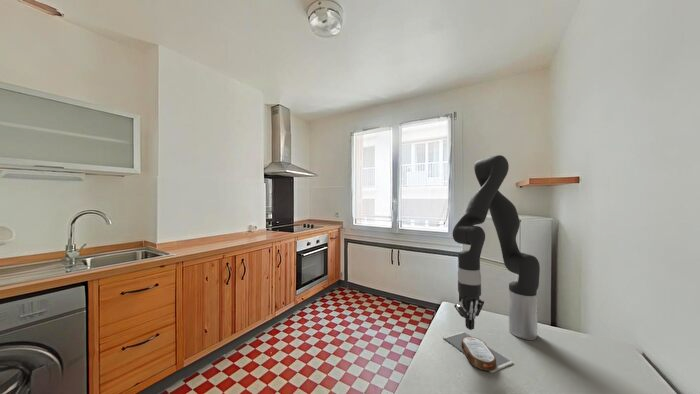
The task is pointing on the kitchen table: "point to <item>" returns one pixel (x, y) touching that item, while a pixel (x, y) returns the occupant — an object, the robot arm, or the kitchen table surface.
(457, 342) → the mat
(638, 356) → the kitchen table surface
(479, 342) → the tin
